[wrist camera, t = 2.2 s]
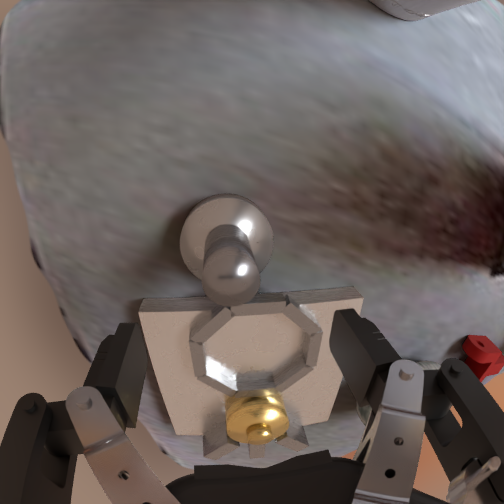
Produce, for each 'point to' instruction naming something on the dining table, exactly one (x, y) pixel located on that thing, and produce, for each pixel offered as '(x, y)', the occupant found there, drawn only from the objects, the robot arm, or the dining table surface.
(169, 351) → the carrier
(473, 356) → the mechanical linkage
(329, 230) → the dining table surface
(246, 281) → the silver knob
